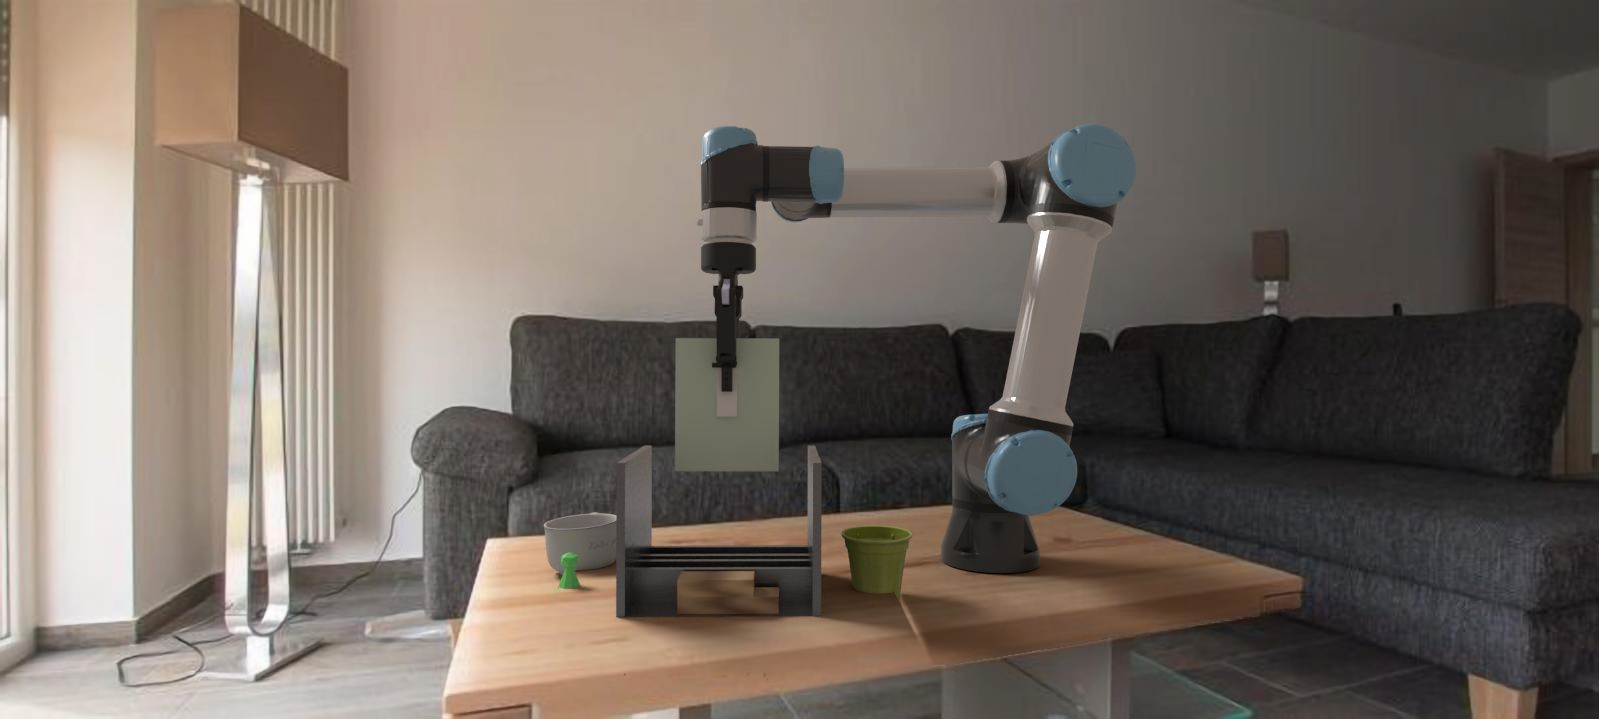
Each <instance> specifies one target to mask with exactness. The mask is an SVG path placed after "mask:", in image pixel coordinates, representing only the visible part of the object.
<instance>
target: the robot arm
mask: <svg viewBox="0 0 1599 719" xmlns="http://www.w3.org/2000/svg"><path fill="white" fill-rule="evenodd" d="M757 140H758V139H757V135H756V133H755V132H754V131H753V130H751V129H749V128H747V127H738V126H735V125H730V126H729V125H723V126H717V127H713V128H711V129H709V130H707V131H706V132H705V134H704V135H703V137H702V141H701V142H702V144H701V161H700V187H701V188H700V190H701V191H700V193H701V194H700V197H701V201H700V202H701V217H702V218H699V219H697V221H696V225H697V226H698V227H701V241H703V242H704V243H703V244H702V246H700V269H701V270H702V271H701V272H703V273H706V274H712V275H718V281H717V282H718V284H717V285H714V284H713V285H712V286H713V287H712V296H713V298H714V316H715V318H716V321H715V322H716V323H715V324H716V325H715V326H716V338H717V356H716V362H717V363H712V368H717V417H737V375H738V368H736V366H737V361H736V360H737V357H736V338H740V319H741V317H742V315H743V314H742V313H743V312H742V310H743V309H742V300H743V299H744V287H743V285H739V278H738V277H739V275H750V274H753V273H755V271H756V269H757V247H755V245H754V243H755V242H756V241H757V217H758V216H757V213H758V212H757V202H763V203H764V202H770V203H771V208H772V210H773V211H774V212H775V214H776V215H777V217H779V218H780V219H782V220H783V221H786V222H790V223H800V222H803V221H805V220H806V221H807V220H808V219H825V218H826V219H827V218H828V219H829V218H931V217H932V218H946V217H947V218H950V217H951V218H953V217H954V218H955V217H956V218H957V217H959V218H960V217H961V218H963V217H964V218H965V217H966V218H971V217H973V218H974V217H975V218H977V217H978V218H979V217H986V218H987V220H989V221H990V222H991V223H993V224H1022V225H1023V224H1024V225H1026V224H1027V225H1029V226H1030V228H1031V229H1032V230H1033V232H1034V237H1033V242H1032V248H1031V253H1030V258H1029V263H1028V267H1027V273H1026V277H1025V281H1024V288H1023V293H1022V298H1021V303H1020V308H1019V312H1018V313H1019V314H1018V318H1017V322H1016V328H1015V332H1014V337H1013V342H1012V343H1013V344H1012V347H1011V348H1012V349H1011V353H1010V358H1009V362H1008V363H1009V364H1008V367H1007V371H1006V372H1007V373H1006V377H1005V378H1006V379H1005V384H1004V388H1003V393H1002V397H1001V398H1000V399H999V400H998V401H996V402H995V403H993V404H992V405H990V406H989V408H988V412H987V413H978V414H965V415H959V416H957V417H956V418H955V419H954V420H953V424H952V433H951V437H950V439H951V442H952V444H951V446H952V448H951V450H952V452H951V455H952V456H951V457H952V458H951V459H952V461H951V462H952V463H951V464H952V466H951V467H952V470H951V472H952V473H951V474H952V476H951V477H952V487H951V488H952V489H951V491H952V492H951V493H952V498H951V500H952V508H951V510H952V511H951V514H950V517H949V520H948V523H947V526H946V528H945V532H944V535H943V538H942V541H941V545H940V560H941V562H943V563H944V564H946V565H947V566H950V567H953V568H956V569H960V570H963V571H964V570H965V571H969V572H971V571H972V572H978V573H986V574H987V573H989V574H1015V573H1023V572H1029V571H1033V570H1036V569H1037V568H1039V567H1040V565H1041V550H1040V546H1039V543H1038V541H1037V540H1038V539H1037V538H1036V534H1035V532H1034V528H1033V525H1032V522H1031V519H1030V516H1038V515H1043V514H1046V513H1049V512H1051V511H1053V510H1055V509H1056V508H1058V507H1059V506H1061V505H1062V504H1063V503H1064V502H1065V501H1066V500H1067V499H1068V498H1069V496H1071V493H1072V492H1073V490H1074V488H1075V485H1076V483H1077V478H1078V465H1077V464H1078V463H1077V459H1076V456H1075V454H1074V452H1073V450H1072V449H1071V447H1070V444H1071V440H1072V435H1073V428H1074V422H1073V421H1072V419H1071V418H1070V416H1069V415H1068V414H1067V412H1066V404H1067V398H1068V394H1069V389H1070V383H1071V380H1072V373H1073V368H1074V364H1075V359H1076V354H1077V348H1078V344H1079V338H1080V332H1081V330H1082V329H1081V328H1082V323H1083V318H1084V315H1085V313H1084V312H1085V308H1086V304H1087V298H1088V293H1089V288H1090V285H1091V284H1090V282H1091V279H1092V272H1093V270H1094V269H1093V268H1094V262H1095V258H1096V253H1097V248H1098V244H1099V242H1100V241H1101V240H1103V239H1104V238H1106V237H1108V235H1110V234H1111V233H1112V231H1113V226H1114V221H1115V216H1116V211H1117V206H1118V203H1119V202H1122V200H1124V199H1125V198H1126V196H1128V193H1129V192H1130V191H1131V190H1132V188H1133V187H1134V184H1135V182H1136V178H1137V173H1138V164H1137V158H1136V155H1135V153H1134V150H1133V148H1132V147H1131V145H1129V143H1128V142H1127V139H1126V138H1125V137H1124V136H1123V135H1122V134H1121V133H1120V132H1118V131H1117V130H1115V129H1114V128H1111V127H1110V126H1107V125H1103V124H1097V123H1085V124H1080V125H1077V126H1075V127H1073V128H1070V129H1067V130H1065V131H1063V132H1060V134H1058V135H1057V136H1056V137H1055V138H1054V139H1053V140H1052V141H1051V142H1049V143H1048V144H1047V145H1046V146H1044V147H1042V148H1041V149H1040V150H1038V151H1037V152H1034V153H1032V154H1030V155H1026V156H1025V157H1024V156H1023V157H1020V158H1016V159H1011V160H994V161H993V162H992V163H991V164H990V165H989V166H988V167H987V166H985V167H983V166H982V167H981V166H977V167H975V166H974V167H966V166H965V167H962V166H961V167H959V166H957V167H955V166H954V167H947V166H945V167H845V163H844V162H845V161H844V155H843V153H842V151H841V150H840V149H838V148H836V147H835V148H834V147H827V146H826V147H824V146H820V145H815V146H792V145H791V146H790V145H789V146H785V145H784V146H783V145H781V146H779V145H773V146H772V145H763V144H759V142H758V141H757Z"/></svg>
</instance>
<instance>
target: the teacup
mask: <svg viewBox="0 0 1599 719" xmlns="http://www.w3.org/2000/svg"><path fill="white" fill-rule="evenodd" d="M543 528H544V539H545V550H546V552H545V553H546V557H547V558H546V559H547V562H548V564H549V566H550V567H551V568H552V569H553V570H555V571H556V572H558V573H559V574H560V575H561V576H563V573H564V570H565V568H566V567H565V566H563V565H561V558H562V556H563V555H564V554H566V553H568V552H571V553H573V554H576V555H578V563H577V565H575V566H573V568H574V571H575V572H577V571H588V570H596V569H597V570H598V569H602V568H606V567H608V566H610V565H613V563H614V562H615V561H616V514H611V513H601V512H597V511H595V512H590V513H582V514H574V515H573V514H572V515H567V516H563V517H558V518H554V519H551V520H547V521H546V522H545V523H544V524H543Z"/></svg>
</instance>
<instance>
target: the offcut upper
mask: <svg viewBox="0 0 1599 719" xmlns="http://www.w3.org/2000/svg"><path fill="white" fill-rule="evenodd" d="M754 588H755V571H682V572H681V574H680V576H679V578H678V580H677V597H753V596H754Z"/></svg>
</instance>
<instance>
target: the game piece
mask: <svg viewBox="0 0 1599 719" xmlns="http://www.w3.org/2000/svg"><path fill="white" fill-rule="evenodd" d="M577 563H578V555H576V554H573V553H571V552H568V553H566V554H564V555H563V556H562V558H561V565H563V566H565V567H566V568H565V570H564V573H563V575H561V578H560V582H559V584H558V587H557V589H554V590H553V592H552V595H554V594H555V593H556V592H557V591H558V589H563V590H565V589H575V588H578V587H580V585H581V583H580V581H579V578H578V576H577V573H576V571H574V568H573V566H575V565H577Z"/></svg>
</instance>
